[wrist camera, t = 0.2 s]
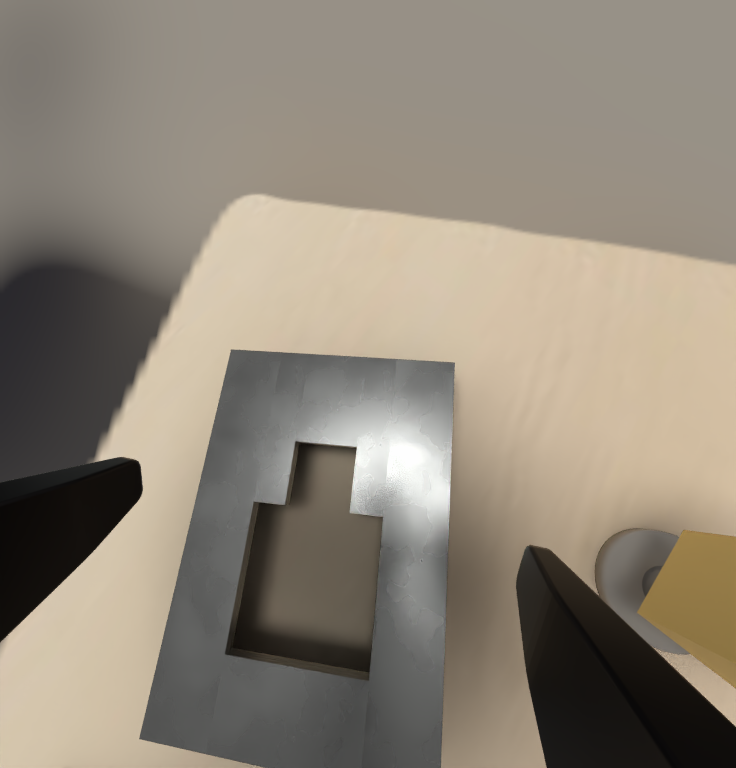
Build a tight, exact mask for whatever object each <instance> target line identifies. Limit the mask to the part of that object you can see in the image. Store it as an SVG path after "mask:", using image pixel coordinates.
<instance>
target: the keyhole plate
mask: <svg viewBox="0 0 736 768" xmlns="http://www.w3.org/2000/svg"><path fill="white" fill-rule="evenodd" d="M454 368H455V363H452V362H435V361H418V360H401V359H384V358H367V357H350V356H333V355H316V354H299V353H282V352H265V351H248V350H231V353H230V357H229V361H228V365H227V370H226V374H225V378H224V382H223V387H222V391H221V395H220V399H219V403H218V408H217V412H216V416H215V420H214V425H213V429H212V433H211V437H210V442H209V446H208V450H207V454H206V459H205V463H204V467H203V471H202V475H201V480H200V484H199V488H198V492H197V497H196V501H195V505H194V509H193V514H192V518H191V522H190V526H189V531H188V535H187V539H186V543H185V548H184V552H183V556H182V560H181V564H180V569H179V573H178V577H177V581H176V586H175V590H174V594H173V598H172V603H171V607H170V611H169V615H168V620H167V624H166V628H165V632H164V636H163V641H162V645H161V649H160V653H159V658H158V662H157V666H156V670H155V675H154V679H153V683H152V687H151V692H150V696H149V700H148V704H147V709H146V713H145V717H144V721H143V725H142V730H141V734H140V738H139V739H142V740H146V741H151V742H155V743H159V744H164V745H168V746H173V747H177V748H181V749H186V750H190V751H195V752H199V753H203V754H208V755H212V756H217V757H221V758H226V759H230V760H234V761H239V762H243V763H248V764H252V765H256V766H261V767H265V768H441V743H442V714H443V686H444V657H445V628H446V599H447V570H448V541H449V512H450V484H451V455H452V426H453V397H454ZM299 443H304V444H315V445H325V446H336V447H347V448H357V451H356V460H355V469H354V478H353V486H352V495H351V504H350V513H354V514H363V515H371V516H379V517H383V524H382V536H381V547H380V559H379V570H378V582H377V593H376V605H375V617H374V628H373V640H372V651H371V663H370V672H364V671H359V670H353V669H348V668H342V667H337V666H331V665H325V664H320V663H314V662H309V661H303V660H298V659H292V658H287V657H281V656H276V655H270V654H265V653H259V652H254V651H248V650H243V649H237V648H232V647H233V642H234V636H235V631H236V625H237V620H238V615H239V609H240V604H241V598H242V593H243V588H244V582H245V577H246V571H247V566H248V561H249V555H250V550H251V545H252V539H253V534H254V528H255V523H256V518H257V512H258V507H259V502H263V503H271V504H279V505H290V499H291V493H292V486H293V480H294V474H295V468H296V461H297V455H298V449H299Z"/></svg>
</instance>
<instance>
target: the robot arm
mask: <svg viewBox="0 0 736 768" xmlns="http://www.w3.org/2000/svg"><path fill="white" fill-rule="evenodd" d="M142 491H143V485H142V475H141V466H140V463H139V462H138V461H137V460H134V459H130V458H125V457H118V458H113V459H108V460H104V461H99V462H94V463H90V464H85V465H80V466H76V467H71V468H66V469H61V470H57V471H52V472H48V473H42V474H38V475H33V476H28V477H24V478H19V479H14V480H9V481H5V482H0V642H1V641H2V640H3V639H4V638H5V637H6V636H7V635H8V634H9V633H11V632H12V631H13V630H14V629H15V628H16V627H17V626H18V625H19V624H20V623H21V622H22V621H23V620H24V619H25V618H26V617H27V616H28V615H29V614H30V613H31V612H32V611H33V610H34V609H35V608H36V607H37V606H38V605H39V604H40V603H41V602H42V601H43V600H44V599H46V598H47V597H48V596H49V595H50V594H51V593H52V592H53V591H54V590H55V589H56V588H57V587H58V586H59V585H60V584H61V583H62V582H63V581H64V580H65V579H66V578H67V577H68V576H69V575H70V574H71V573H72V572H73V571H74V570H75V569H76V568H77V567H78V566H79V565H80V564H81V563H82V562H83V561H84V560H85V559H86V558H87V557H88V556H89V555H90V554H91V553H92V552H93V551H94V550H95V549H96V548H97V547H98V546H99V545H100V543H101V542H102V541H103V540H104V539H105V538H106V537H107V535H108V534H109V533H110V532H111V531H112V530H113V529H114V528H115V526H116V525H117V524H118V523H119V522H120V521H121V520H122V519H123V517H124V516H125V515H126V514H127V513H128V512H129V511H130V509H131V508H132V507H133V506H134V505H135V504H136V503H137V502H138V500H139V499H140V497H141V495H142ZM516 590H517V599H518V607H519V616H520V624H521V633H522V641H523V650H524V658H525V666H526V673H527V678H528V683H529V689H530V693H531V698H532V702H533V707H534V712H535V716H536V721H537V725H538V730H539V734H540V739H541V744H542V748H543V753H544V757H545V762H546V766H547V768H736V727H735V726H734V725H733V724H732V723H731V722H730V721H729V720H728V719H727V718H726V717H725V716H724V715H723V714H722V713H721V712H720V711H719V710H718V709H716V708H715V707H714V706H713V705H712V704H711V703H710V702H709V701H708V700H707V699H706V698H705V697H704V696H703V695H702V694H701V693H700V692H699V691H698V690H697V689H696V688H694V687H693V686H692V685H691V684H690V683H689V682H688V681H687V680H686V679H685V678H684V677H683V676H682V675H681V674H680V673H679V672H678V671H677V670H676V669H675V668H674V667H672V666H671V665H670V664H669V663H668V662H667V661H666V660H665V659H664V658H663V657H662V656H661V655H660V654H659V653H658V652H657V651H656V650H655V649H654V648H653V647H652V646H650V645H649V644H648V643H647V642H646V641H645V640H644V639H643V638H642V637H641V636H640V635H639V634H638V633H637V632H636V631H635V630H634V629H633V628H632V627H631V626H630V625H628V624H627V623H626V622H625V621H624V620H623V619H622V618H621V617H620V616H619V615H618V614H617V613H616V612H615V611H614V610H613V609H612V608H611V607H610V606H609V605H608V604H606V603H605V602H604V601H603V600H602V599H601V598H600V597H599V596H598V595H597V594H596V593H595V592H594V591H593V590H592V589H591V588H590V587H589V586H588V585H587V584H586V583H584V582H583V581H582V580H581V579H580V578H579V577H578V576H577V575H576V574H575V573H574V572H573V571H572V570H571V569H570V568H569V567H568V566H567V565H566V564H565V563H564V562H562V561H561V560H560V559H559V558H558V557H557V556H556V555H555V554H554V553H553V552H552V551H551V550H549V549H547V548H542V547H538V546H533V545H529V546H527V547H526V549H525V551H524V554H523V557H522V561H521V564H520V568H519V571H518V575H517V581H516Z"/></svg>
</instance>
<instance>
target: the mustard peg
mask: <svg viewBox="0 0 736 768" xmlns="http://www.w3.org/2000/svg"><path fill="white" fill-rule="evenodd" d="M595 580H596V585H597V590H598V593H599V595H600V598H601V599H602V600H603V601H604V602H605V603H606V604H608V605H609V606H610V607H611V608H612V609H613V610H614V611H615V612H616V613H617V614H618V615H619V616H620V617H621V618H622V619H623V620H624V621H625V622H626V623H627V624H628V625H630V626H631V627H632V628H633V629H634V630H635V631H636V632H637V633H638V634H639V635H640V636H641V637H642V638H643V639H644V640H645V641H646V642H647V643H648V644H649V645H651V646H652V647H654V648H657V649H659V650H661V651H665V652H668V653H673V654H691V655H693V656H694V657H695V658H697V659H698V660H699V661H701V662H702V663H703V664H704V665H706V666H707V667H708V668H710V669H711V670H712V671H714V672H715V673H716V674H718V675H719V676H720V677H721V678H723V679H724V680H725V681H727V682H728V683H729V684H731V685H732V686H733V687H734V688H736V537H733V536H726V535H718V534H711V533H703V532H695V531H688V530H683V532H682V534H681V536H680V537H678V536H675V535H673V534H670V533H666V532H661V531H655V530H648V529H628V530H624V531H621V532H619V533H617V534H615V535H613V536H612V537H611V538H609V539H608V540H607V541H606V542H605V543H604V545H603V546H602V548H601V550H600V551H599V553H598V556H597V559H596V565H595Z"/></svg>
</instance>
